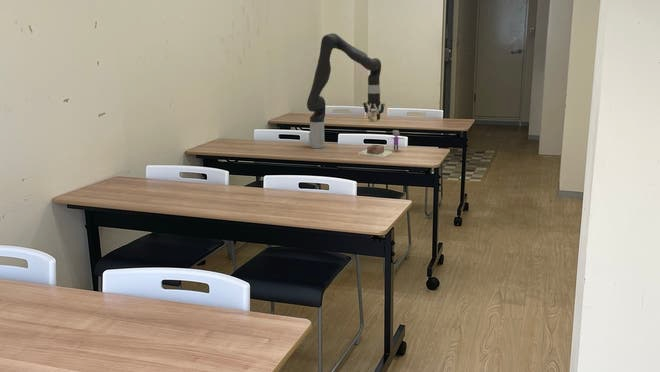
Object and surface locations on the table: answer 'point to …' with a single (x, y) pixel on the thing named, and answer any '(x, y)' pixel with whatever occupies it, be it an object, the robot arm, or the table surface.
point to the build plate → (376, 154)
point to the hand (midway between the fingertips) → (374, 119)
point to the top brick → (373, 116)
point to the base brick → (375, 149)
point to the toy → (396, 139)
